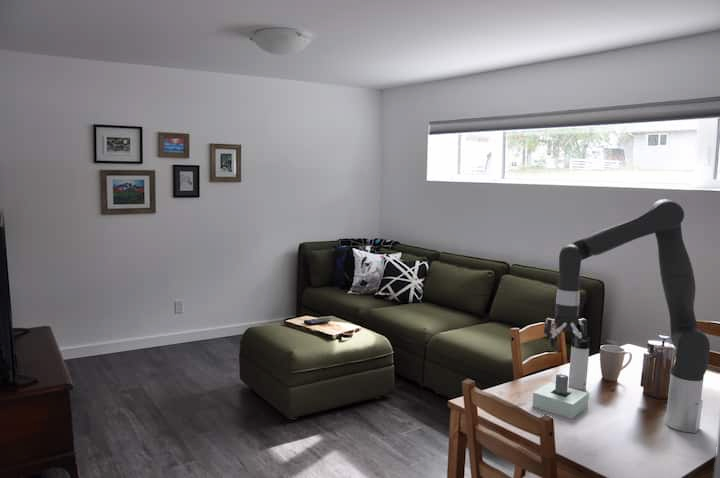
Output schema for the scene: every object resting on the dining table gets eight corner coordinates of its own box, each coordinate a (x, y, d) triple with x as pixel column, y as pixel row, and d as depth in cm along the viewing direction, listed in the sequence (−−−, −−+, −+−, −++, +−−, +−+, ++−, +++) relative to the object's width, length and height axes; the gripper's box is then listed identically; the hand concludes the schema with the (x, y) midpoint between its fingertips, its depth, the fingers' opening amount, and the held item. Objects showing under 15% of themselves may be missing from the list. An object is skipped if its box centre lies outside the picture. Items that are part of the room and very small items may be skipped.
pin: (568, 403, 195) (570, 376, 194) (563, 407, 192) (565, 379, 191) (556, 400, 198) (559, 373, 197) (552, 403, 195) (554, 376, 194)
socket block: (587, 406, 196) (588, 393, 195) (571, 418, 186) (573, 404, 185) (549, 395, 205) (550, 382, 205) (532, 406, 195) (533, 392, 194)
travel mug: (589, 392, 209) (593, 340, 207) (571, 391, 209) (575, 340, 207) (582, 385, 215) (587, 335, 213) (565, 385, 215) (569, 335, 213)
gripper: (583, 300, 195) (579, 344, 197) (543, 299, 194) (540, 344, 196) (592, 305, 187) (589, 351, 189) (551, 304, 187) (548, 351, 189)
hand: (564, 347), depth 193 cm, fingers open, 8 cm apart
